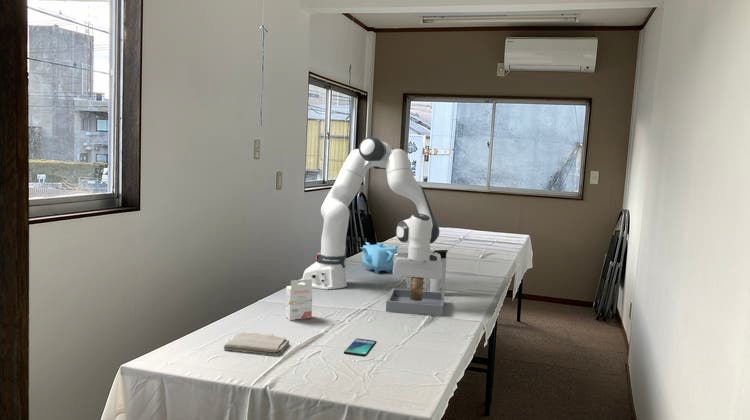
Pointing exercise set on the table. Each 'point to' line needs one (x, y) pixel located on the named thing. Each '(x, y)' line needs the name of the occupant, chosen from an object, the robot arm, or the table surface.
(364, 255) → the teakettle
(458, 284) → the table surface
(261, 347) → the washcloth
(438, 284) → the travel mug
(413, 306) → the tray
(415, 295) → the tan rounded cylinder
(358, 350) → the smartphone
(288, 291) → the ink cartridge box
